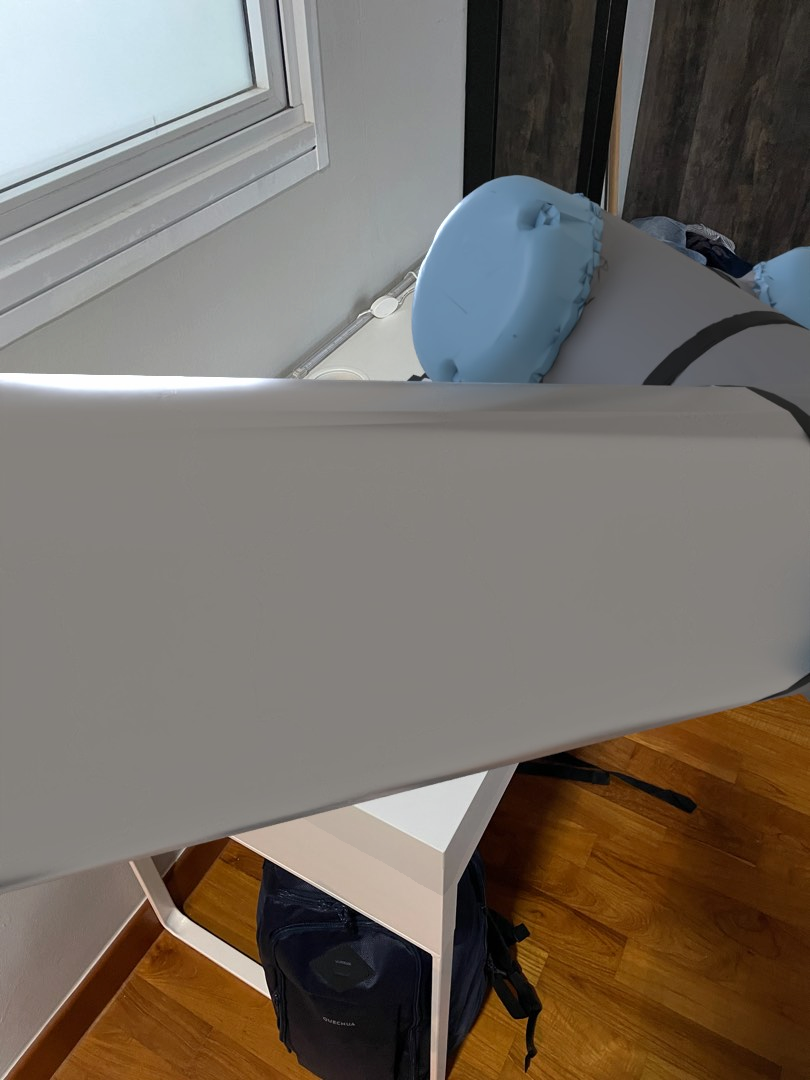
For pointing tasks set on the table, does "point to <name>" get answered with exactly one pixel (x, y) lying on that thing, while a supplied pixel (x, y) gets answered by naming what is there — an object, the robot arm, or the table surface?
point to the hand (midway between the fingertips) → (334, 576)
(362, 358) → the table surface
